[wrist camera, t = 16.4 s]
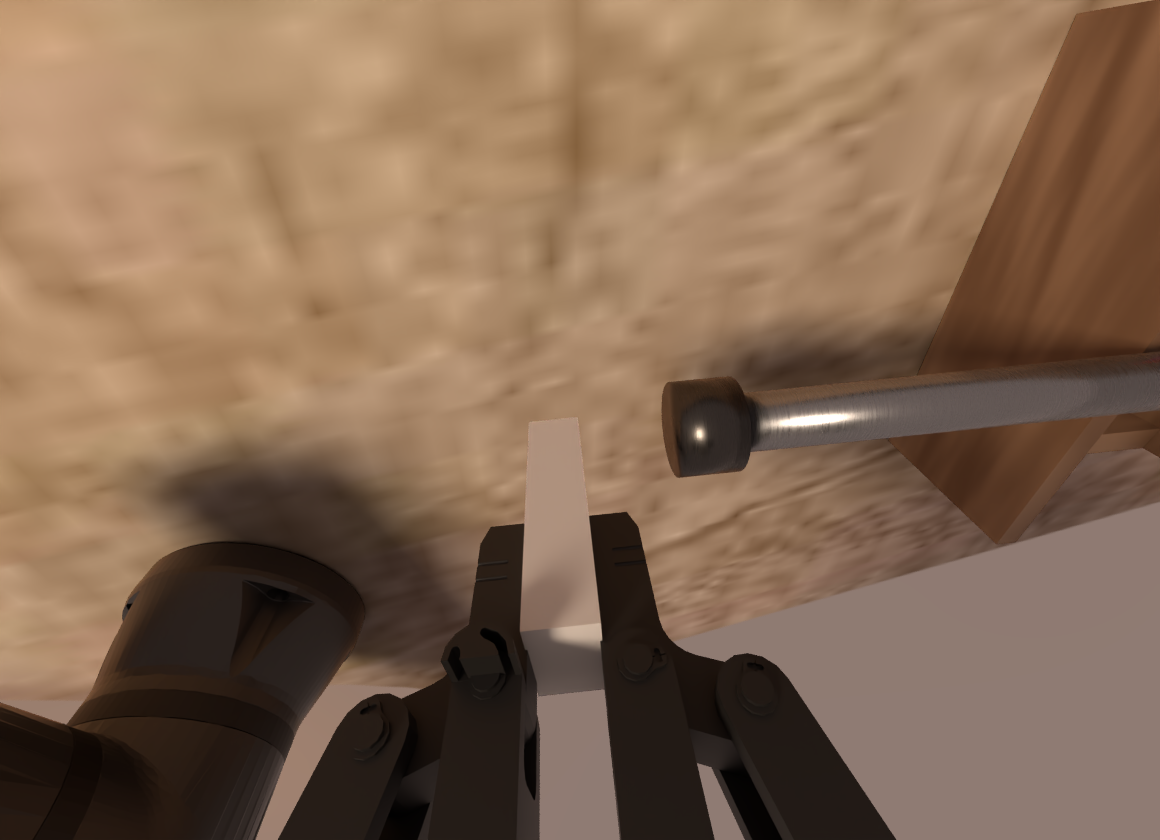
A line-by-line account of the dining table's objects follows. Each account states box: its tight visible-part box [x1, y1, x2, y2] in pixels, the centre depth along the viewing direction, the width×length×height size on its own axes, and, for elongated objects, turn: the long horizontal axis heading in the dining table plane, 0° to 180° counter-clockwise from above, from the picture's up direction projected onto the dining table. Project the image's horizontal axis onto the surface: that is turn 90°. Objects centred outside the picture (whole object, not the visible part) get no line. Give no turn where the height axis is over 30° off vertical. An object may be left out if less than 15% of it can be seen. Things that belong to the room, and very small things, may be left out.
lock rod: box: [662, 351, 1160, 478], centre depth 15 cm, size 19×3×3 cm, turn 94°
